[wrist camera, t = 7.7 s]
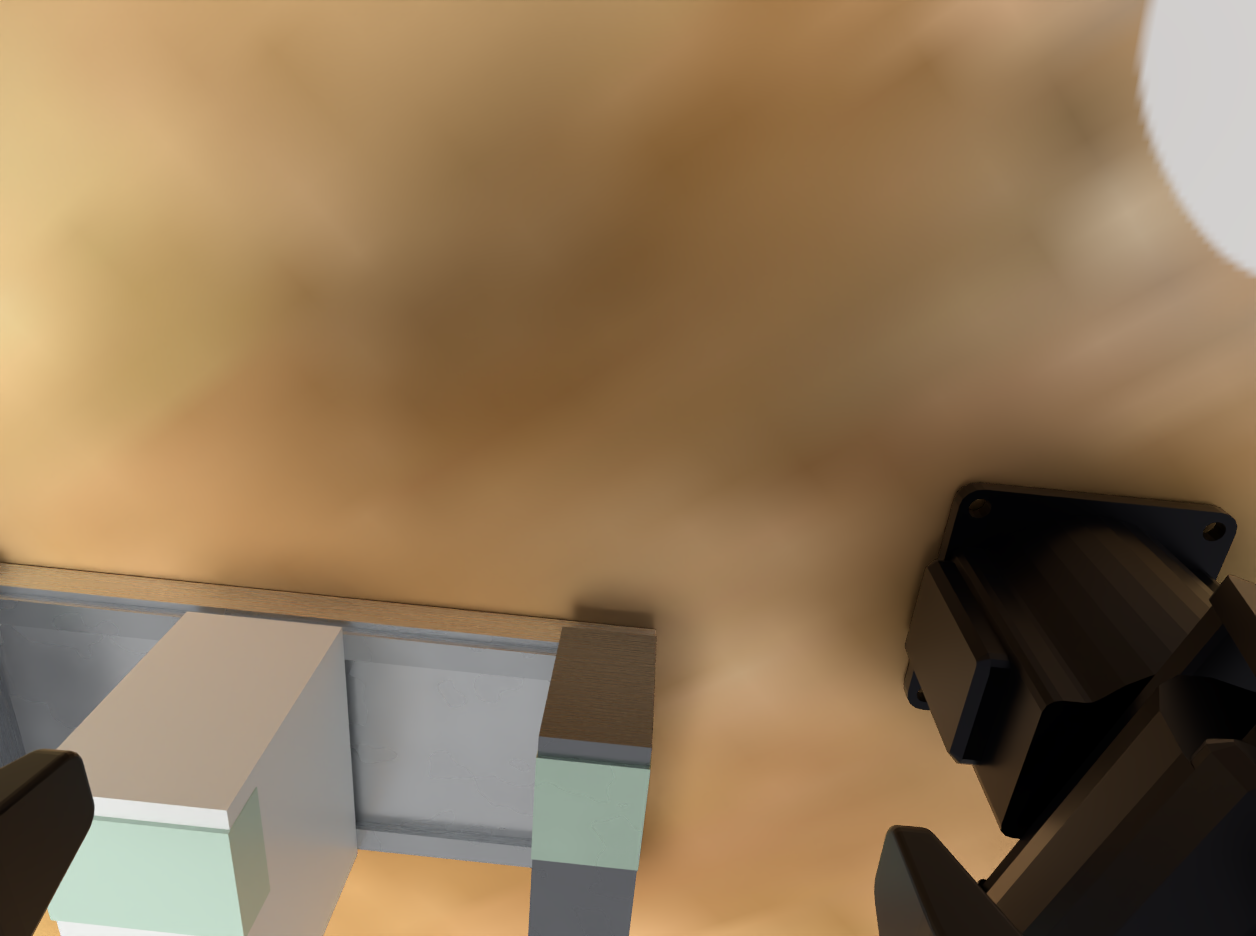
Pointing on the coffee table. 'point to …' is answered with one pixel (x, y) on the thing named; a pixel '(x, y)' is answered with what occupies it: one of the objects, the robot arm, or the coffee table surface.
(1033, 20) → the coffee table surface
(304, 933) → the module
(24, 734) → the rail
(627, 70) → the coffee table surface
